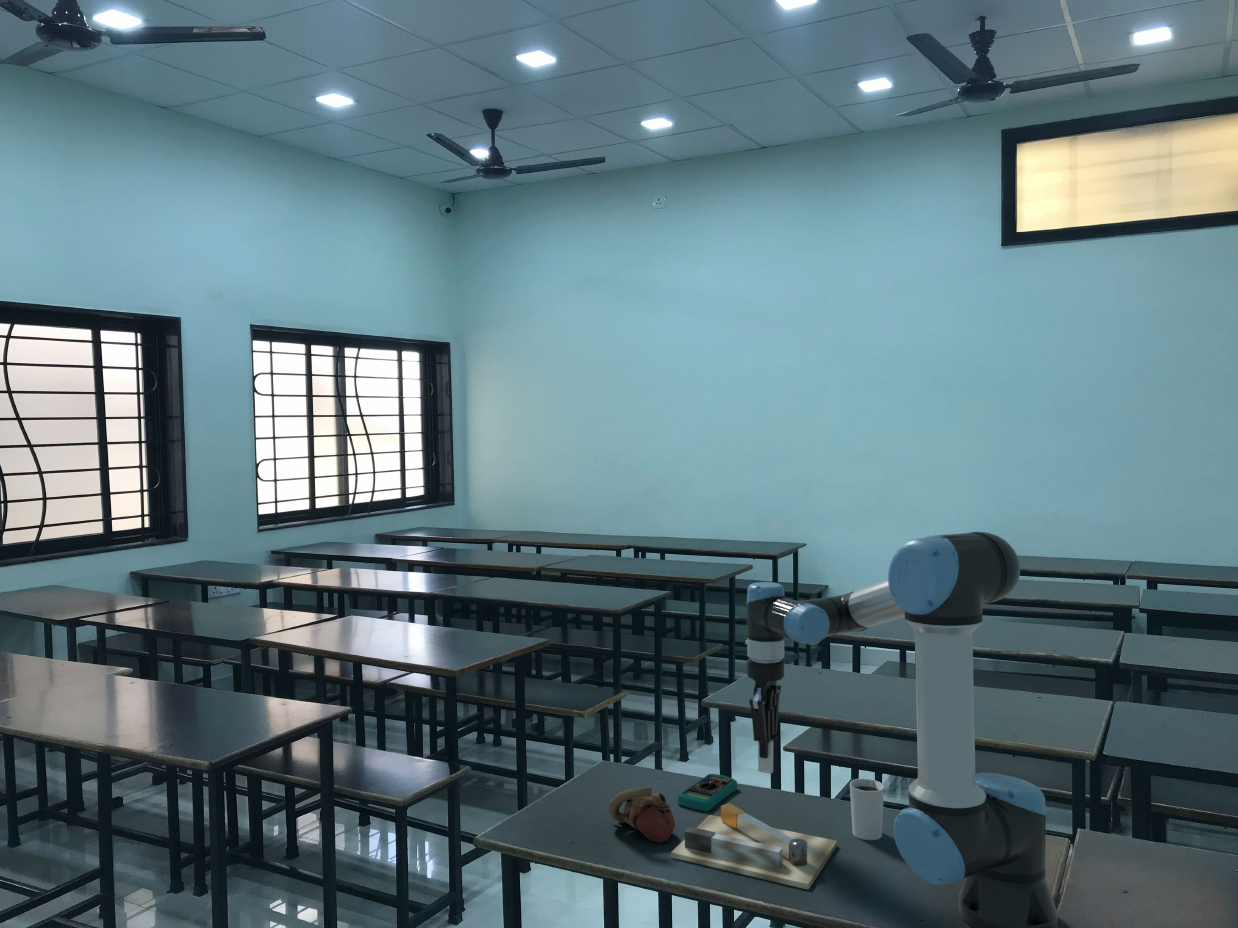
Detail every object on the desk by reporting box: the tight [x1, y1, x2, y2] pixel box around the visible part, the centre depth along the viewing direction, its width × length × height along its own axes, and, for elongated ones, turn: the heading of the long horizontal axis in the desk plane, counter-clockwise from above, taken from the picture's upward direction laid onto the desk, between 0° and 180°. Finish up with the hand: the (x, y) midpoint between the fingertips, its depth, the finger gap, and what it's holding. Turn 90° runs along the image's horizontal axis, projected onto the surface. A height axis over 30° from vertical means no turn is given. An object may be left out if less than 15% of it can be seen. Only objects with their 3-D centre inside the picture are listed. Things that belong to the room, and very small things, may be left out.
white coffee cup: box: [849, 778, 885, 841], centre depth 181 cm, size 7×7×10 cm
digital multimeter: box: [677, 773, 738, 812], centre depth 201 cm, size 8×15×3 cm, turn 146°
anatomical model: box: [608, 786, 676, 844], centre depth 183 cm, size 13×9×15 cm
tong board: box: [670, 814, 838, 890], centre depth 174 cm, size 27×19×4 cm
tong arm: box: [720, 803, 807, 866], centre depth 176 cm, size 24×3×4 cm, turn 31°
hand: (765, 771), depth 185 cm, fingers closed
